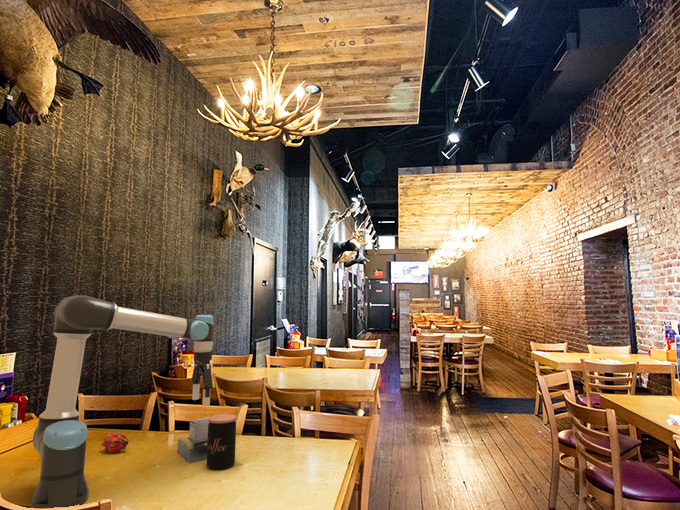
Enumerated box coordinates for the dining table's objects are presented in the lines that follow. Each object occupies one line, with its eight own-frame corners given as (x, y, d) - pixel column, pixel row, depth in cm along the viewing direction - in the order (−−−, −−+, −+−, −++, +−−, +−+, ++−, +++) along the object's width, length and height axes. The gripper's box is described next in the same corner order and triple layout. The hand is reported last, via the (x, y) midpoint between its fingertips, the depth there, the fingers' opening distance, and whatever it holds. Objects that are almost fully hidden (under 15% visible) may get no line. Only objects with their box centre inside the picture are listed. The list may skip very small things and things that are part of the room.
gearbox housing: (230, 454, 176) (230, 436, 177) (189, 463, 166) (189, 444, 167) (216, 444, 188) (217, 428, 189) (177, 451, 178) (178, 434, 179)
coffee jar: (200, 467, 161) (202, 418, 163) (220, 459, 170) (221, 412, 172) (221, 473, 156) (223, 422, 158) (240, 463, 165) (242, 416, 167)
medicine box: (206, 437, 181) (207, 416, 182) (211, 440, 178) (212, 418, 179) (188, 441, 175) (189, 420, 176) (193, 444, 172) (194, 422, 173)
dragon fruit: (103, 453, 181) (125, 460, 177) (92, 446, 175) (114, 453, 171) (116, 433, 187) (137, 440, 183) (105, 426, 180) (127, 433, 177)
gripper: (222, 353, 174) (220, 406, 171) (202, 348, 194) (199, 396, 191) (204, 354, 169) (201, 409, 166) (185, 349, 189) (182, 398, 186)
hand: (200, 402), depth 179 cm, fingers open, 13 cm apart
